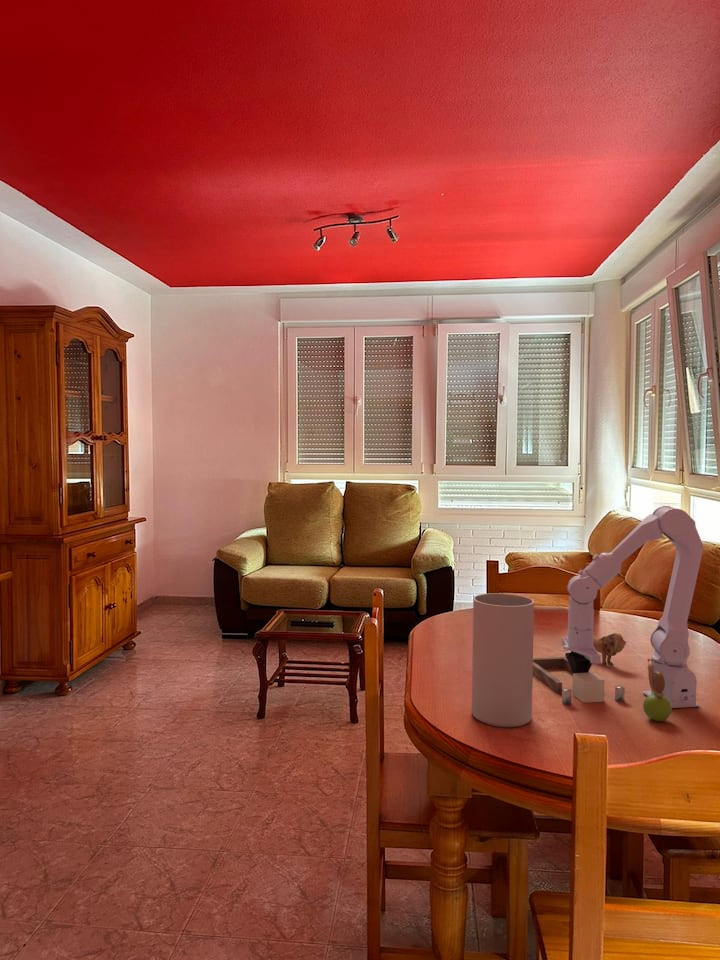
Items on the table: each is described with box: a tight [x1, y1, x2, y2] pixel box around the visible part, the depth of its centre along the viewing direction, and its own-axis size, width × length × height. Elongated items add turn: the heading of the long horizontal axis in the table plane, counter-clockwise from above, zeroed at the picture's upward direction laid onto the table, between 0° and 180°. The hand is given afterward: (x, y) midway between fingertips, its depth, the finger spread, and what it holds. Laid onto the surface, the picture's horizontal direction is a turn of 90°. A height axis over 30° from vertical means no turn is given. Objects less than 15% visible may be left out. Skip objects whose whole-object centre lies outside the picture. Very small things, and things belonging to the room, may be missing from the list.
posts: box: [561, 685, 626, 706], centre depth 144 cm, size 2×15×3 cm, turn 100°
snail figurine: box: [642, 658, 673, 722], centre depth 135 cm, size 5×6×12 cm
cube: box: [571, 671, 605, 704], centre depth 146 cm, size 5×5×5 cm
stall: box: [533, 656, 572, 694], centre depth 159 cm, size 18×11×2 cm, turn 10°
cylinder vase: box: [471, 592, 535, 728], centre depth 135 cm, size 12×12×25 cm
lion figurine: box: [593, 632, 627, 668], centre depth 173 cm, size 15×5×9 cm, turn 34°
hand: (579, 684), depth 150 cm, fingers closed
